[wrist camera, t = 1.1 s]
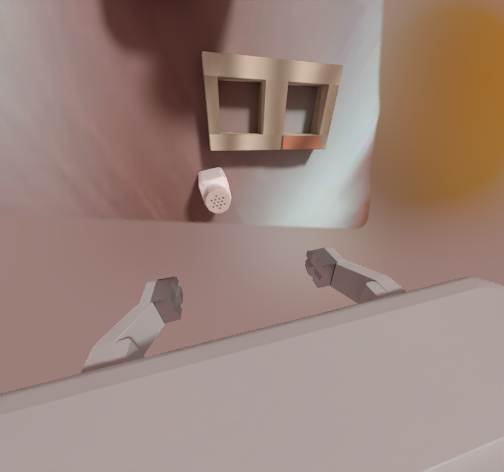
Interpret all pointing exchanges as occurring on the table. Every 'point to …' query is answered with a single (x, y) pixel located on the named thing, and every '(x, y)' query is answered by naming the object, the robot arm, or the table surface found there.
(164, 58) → the table surface
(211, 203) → the pepper shaker
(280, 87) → the slot rack
